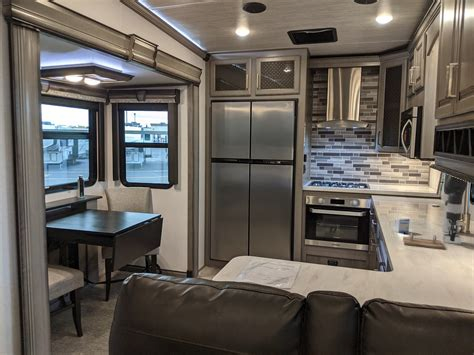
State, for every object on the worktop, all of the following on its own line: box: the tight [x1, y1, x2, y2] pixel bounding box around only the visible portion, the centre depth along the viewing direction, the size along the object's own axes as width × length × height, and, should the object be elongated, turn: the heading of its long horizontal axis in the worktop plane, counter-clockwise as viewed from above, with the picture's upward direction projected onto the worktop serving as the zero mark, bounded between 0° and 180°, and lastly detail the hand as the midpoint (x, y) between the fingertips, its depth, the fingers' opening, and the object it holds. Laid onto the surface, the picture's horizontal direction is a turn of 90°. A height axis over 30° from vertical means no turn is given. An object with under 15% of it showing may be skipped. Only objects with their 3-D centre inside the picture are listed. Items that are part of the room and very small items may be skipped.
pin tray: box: [402, 232, 445, 250], centre depth 214 cm, size 14×20×5 cm
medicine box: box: [393, 217, 411, 234], centre depth 240 cm, size 8×4×9 cm, turn 105°
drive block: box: [441, 233, 462, 245], centre depth 219 cm, size 5×9×4 cm, turn 63°
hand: (451, 239), depth 219 cm, fingers closed on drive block, 5 cm apart
